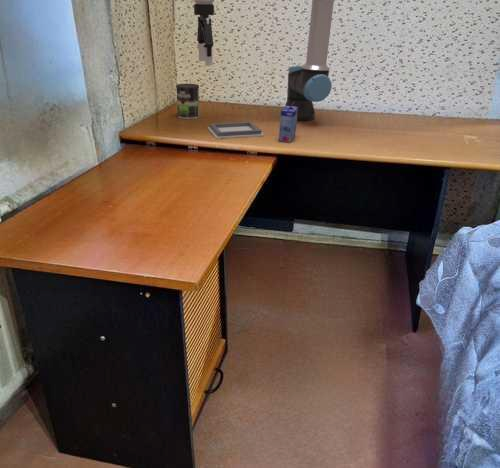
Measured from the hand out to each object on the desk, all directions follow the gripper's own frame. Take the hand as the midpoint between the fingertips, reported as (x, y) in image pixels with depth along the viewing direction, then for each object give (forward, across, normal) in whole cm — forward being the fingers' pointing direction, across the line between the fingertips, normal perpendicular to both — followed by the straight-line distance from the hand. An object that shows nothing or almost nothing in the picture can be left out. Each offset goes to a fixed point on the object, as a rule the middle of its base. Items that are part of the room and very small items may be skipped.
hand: (205, 63), depth 188 cm
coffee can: (+27, -27, -4) cm, 38 cm away
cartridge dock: (+27, +5, +11) cm, 30 cm away
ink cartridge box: (+27, +19, +29) cm, 44 cm away
